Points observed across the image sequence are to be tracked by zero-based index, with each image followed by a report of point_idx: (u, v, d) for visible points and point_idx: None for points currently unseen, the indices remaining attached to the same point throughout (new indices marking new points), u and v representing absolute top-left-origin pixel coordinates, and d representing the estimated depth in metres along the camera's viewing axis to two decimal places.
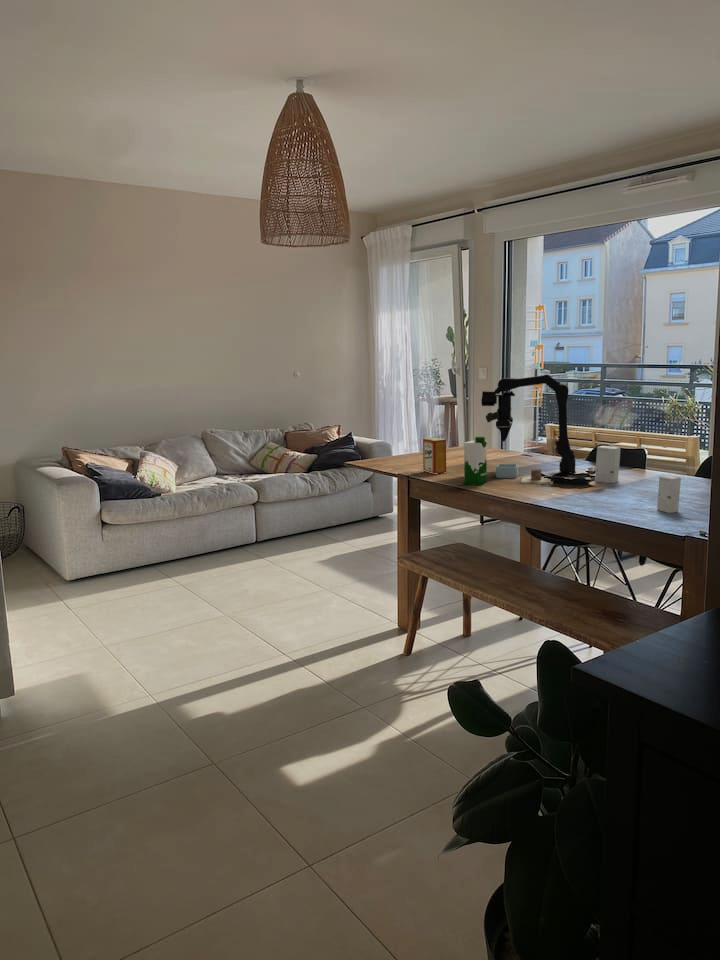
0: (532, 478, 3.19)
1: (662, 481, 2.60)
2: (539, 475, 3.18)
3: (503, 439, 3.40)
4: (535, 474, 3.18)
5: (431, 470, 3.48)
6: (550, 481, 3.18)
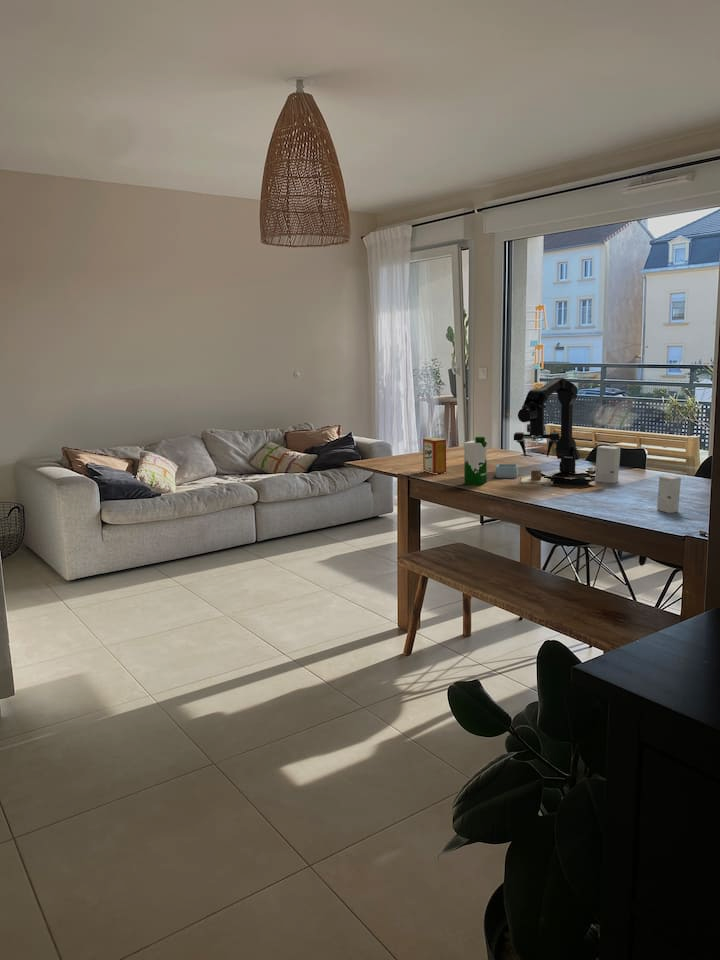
0: (532, 478, 3.19)
1: (662, 481, 2.60)
2: (539, 475, 3.18)
3: (524, 454, 3.20)
4: (535, 474, 3.18)
5: (431, 470, 3.48)
6: (550, 481, 3.18)
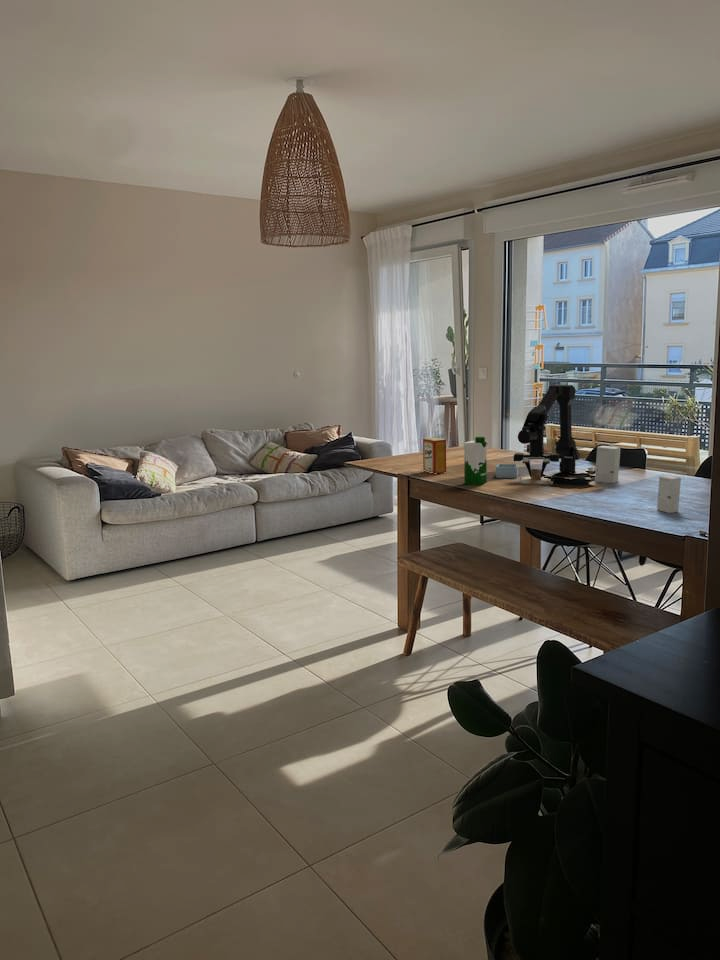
0: (532, 478, 3.19)
1: (662, 481, 2.60)
2: (539, 475, 3.18)
3: (529, 474, 3.21)
4: (535, 474, 3.18)
5: (431, 470, 3.48)
6: (550, 481, 3.18)
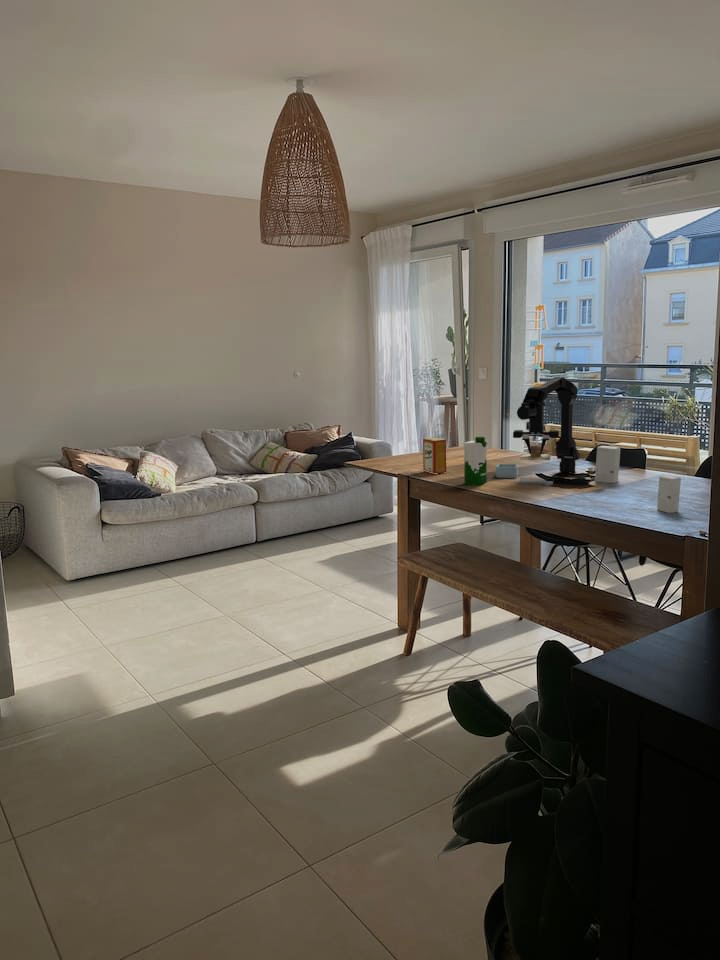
0: (532, 455, 3.17)
1: (662, 481, 2.60)
2: (539, 452, 3.16)
3: (529, 451, 3.20)
4: (535, 451, 3.17)
5: (431, 470, 3.48)
6: None
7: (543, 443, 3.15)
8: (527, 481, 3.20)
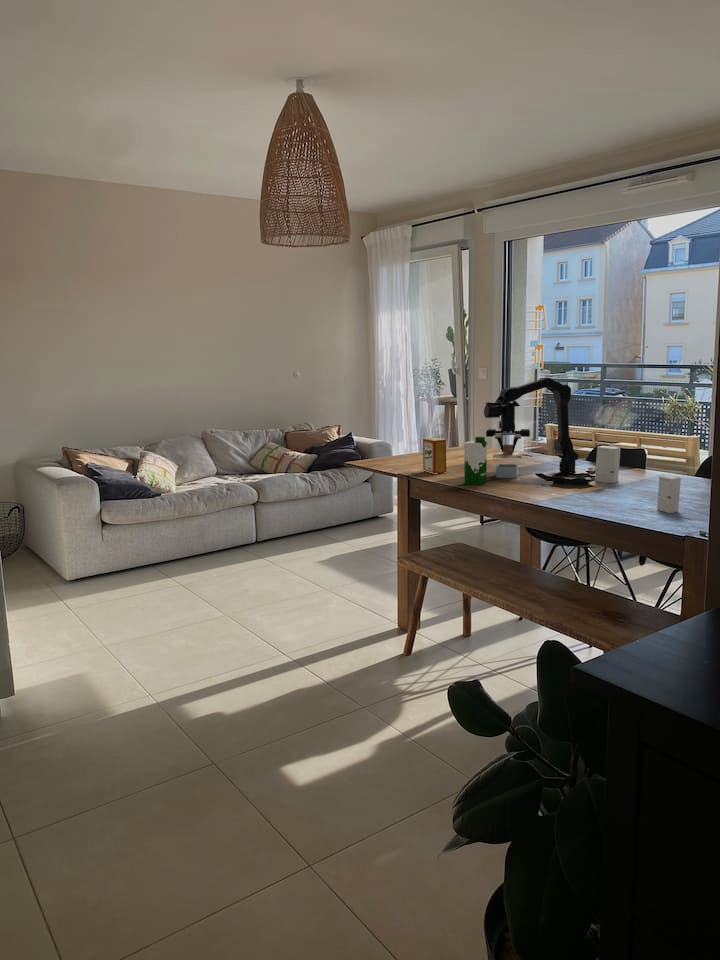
0: (504, 453, 3.31)
1: (662, 481, 2.60)
2: (511, 450, 3.30)
3: None
4: (507, 449, 3.30)
5: (431, 470, 3.48)
6: (521, 456, 3.30)
7: (515, 441, 3.28)
8: (527, 481, 3.20)
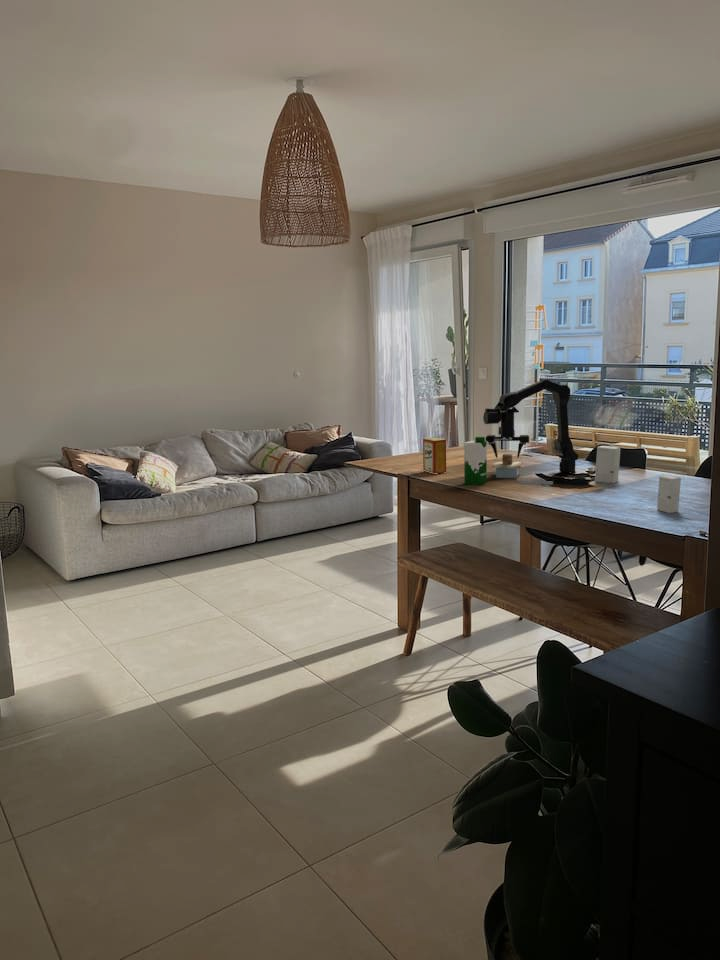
0: (503, 463, 3.32)
1: (662, 481, 2.60)
2: (510, 460, 3.31)
3: (495, 455, 3.34)
4: (506, 459, 3.31)
5: (431, 470, 3.48)
6: None
7: (520, 447, 3.29)
8: (527, 481, 3.20)
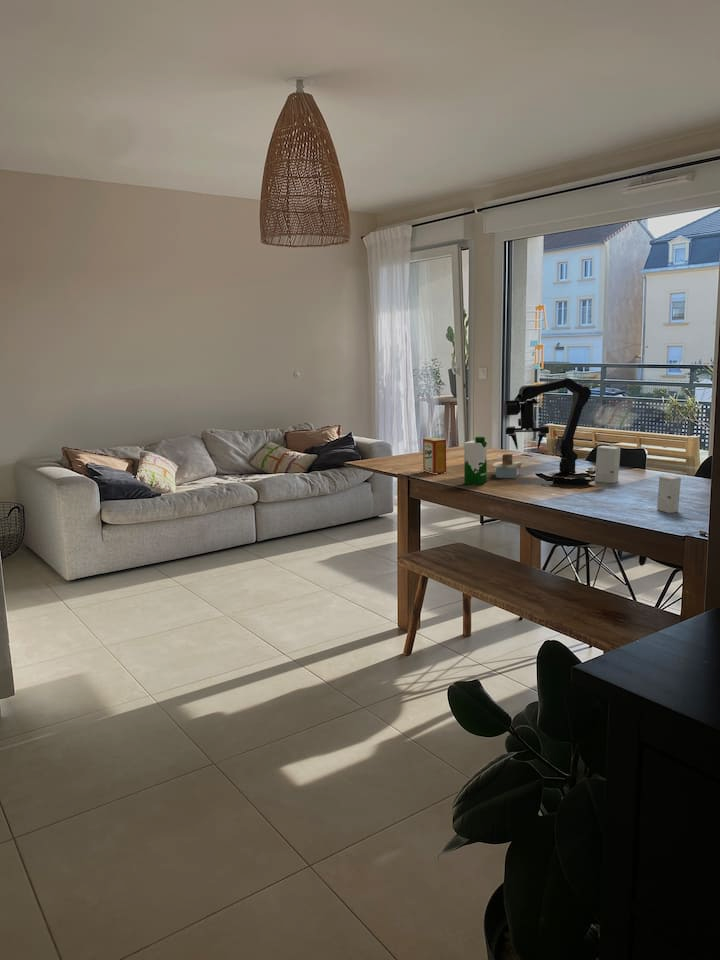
0: (503, 463, 3.32)
1: (662, 481, 2.60)
2: (510, 460, 3.31)
3: (516, 447, 3.37)
4: (506, 459, 3.31)
5: (431, 470, 3.48)
6: None
7: (540, 438, 3.32)
8: (527, 481, 3.20)
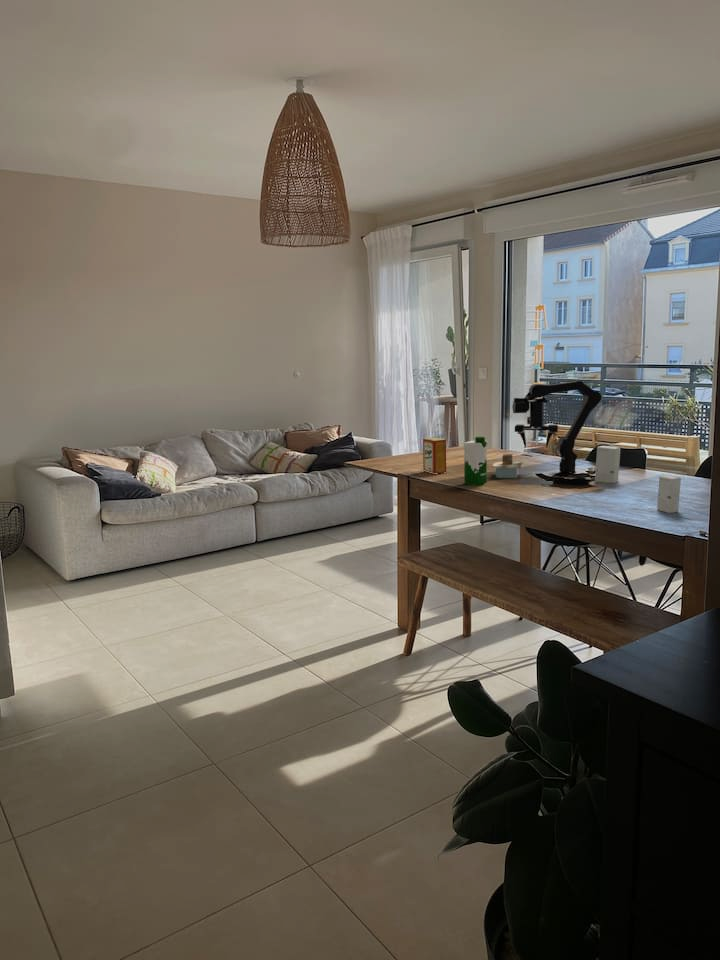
0: (503, 463, 3.32)
1: (662, 481, 2.60)
2: (510, 460, 3.31)
3: None
4: (506, 459, 3.31)
5: (431, 470, 3.48)
6: None
7: (549, 437, 3.33)
8: (527, 481, 3.20)
